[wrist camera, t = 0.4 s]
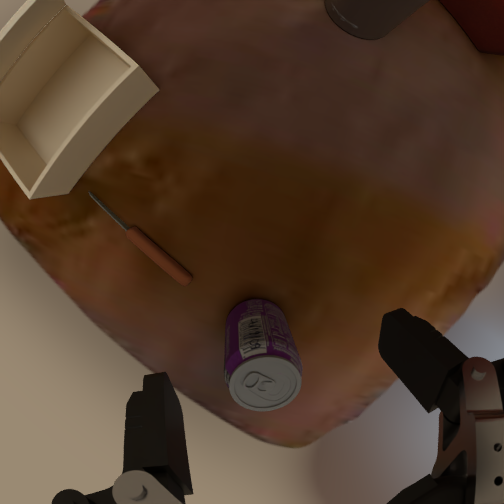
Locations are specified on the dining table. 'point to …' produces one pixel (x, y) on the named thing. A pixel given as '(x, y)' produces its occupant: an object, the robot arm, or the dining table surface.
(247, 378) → the beverage can
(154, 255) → the screwdriver
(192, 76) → the dining table surface
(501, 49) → the plant pot
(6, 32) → the box lid
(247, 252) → the dining table surface
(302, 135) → the dining table surface
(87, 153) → the cardboard box
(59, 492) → the robot arm
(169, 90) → the dining table surface
